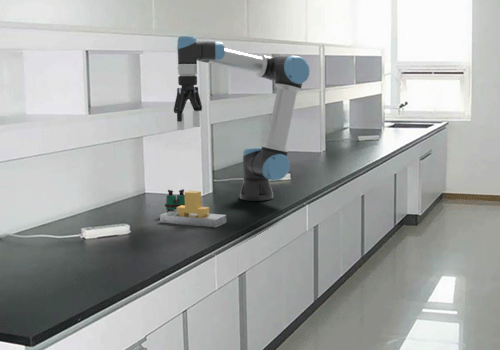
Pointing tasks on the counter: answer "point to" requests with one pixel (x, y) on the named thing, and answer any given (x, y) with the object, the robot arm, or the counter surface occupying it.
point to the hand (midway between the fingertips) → (188, 128)
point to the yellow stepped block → (193, 205)
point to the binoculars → (174, 200)
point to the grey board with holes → (193, 219)
